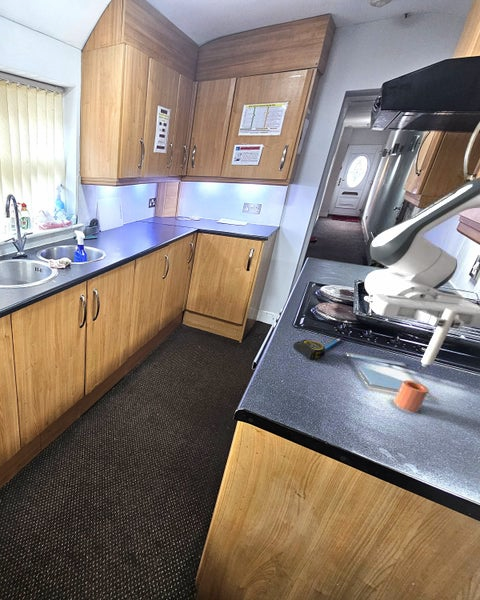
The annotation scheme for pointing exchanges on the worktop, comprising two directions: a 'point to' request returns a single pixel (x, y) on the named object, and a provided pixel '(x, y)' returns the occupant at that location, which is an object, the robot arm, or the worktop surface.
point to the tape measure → (310, 349)
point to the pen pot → (411, 396)
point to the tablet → (381, 376)
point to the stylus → (438, 337)
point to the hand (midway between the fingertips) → (449, 324)
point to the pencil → (332, 344)
